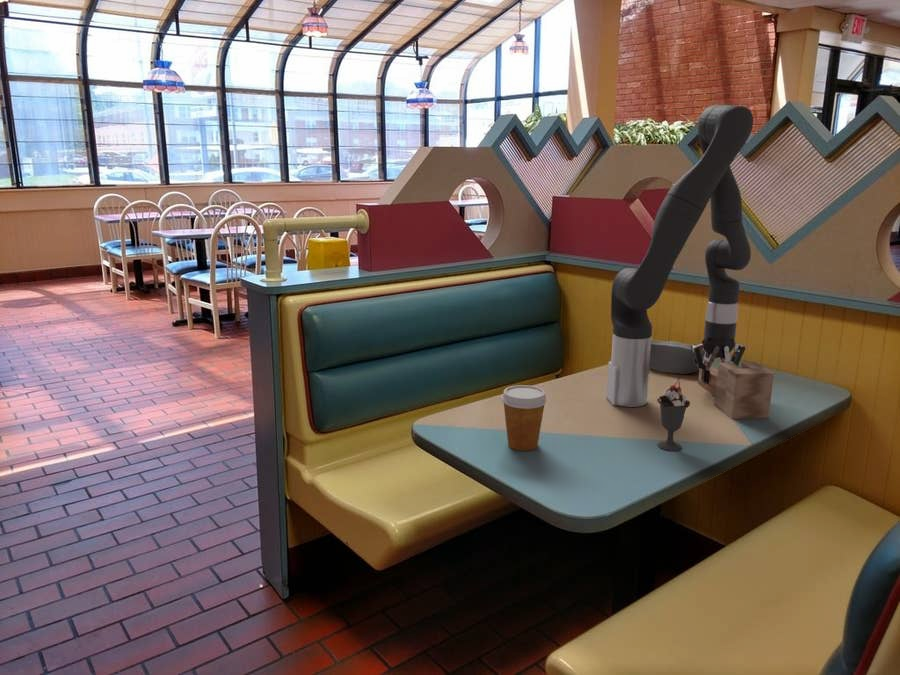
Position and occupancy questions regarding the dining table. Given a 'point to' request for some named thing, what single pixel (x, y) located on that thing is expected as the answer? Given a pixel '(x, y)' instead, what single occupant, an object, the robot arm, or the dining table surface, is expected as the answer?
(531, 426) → the disposable coffee cup
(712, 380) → the bed rail
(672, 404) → the sundae
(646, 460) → the dining table surface
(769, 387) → the slotted tan block
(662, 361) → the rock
